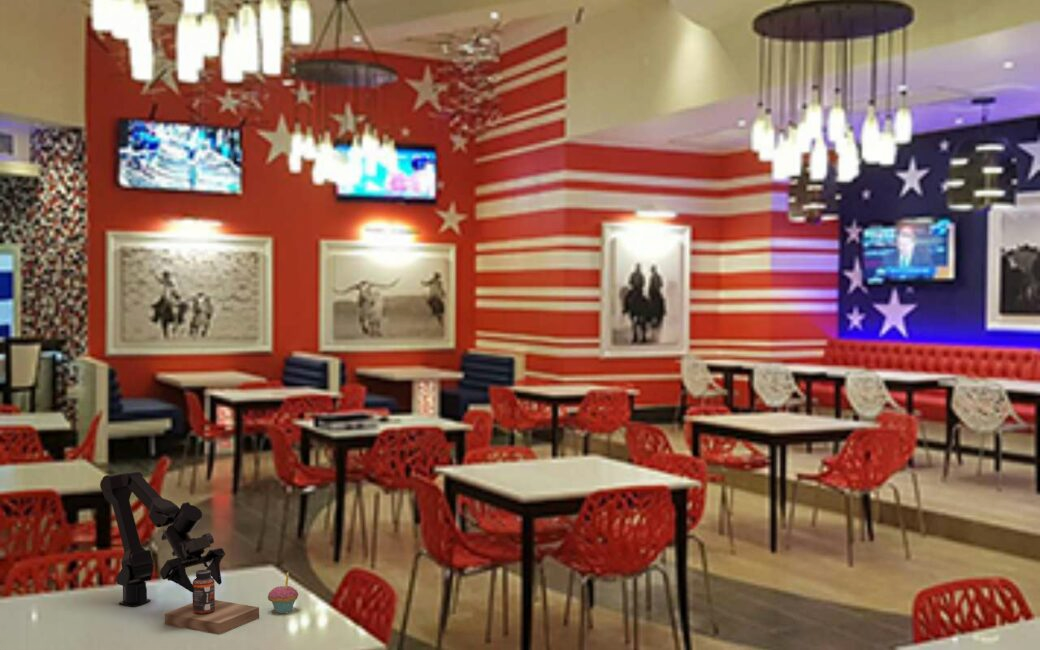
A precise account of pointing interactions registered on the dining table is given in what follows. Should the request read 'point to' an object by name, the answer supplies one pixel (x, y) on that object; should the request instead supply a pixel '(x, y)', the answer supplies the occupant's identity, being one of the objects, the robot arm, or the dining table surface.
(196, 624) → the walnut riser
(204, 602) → the supplement bottle
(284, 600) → the cupcake
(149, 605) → the dining table surface
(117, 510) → the robot arm
